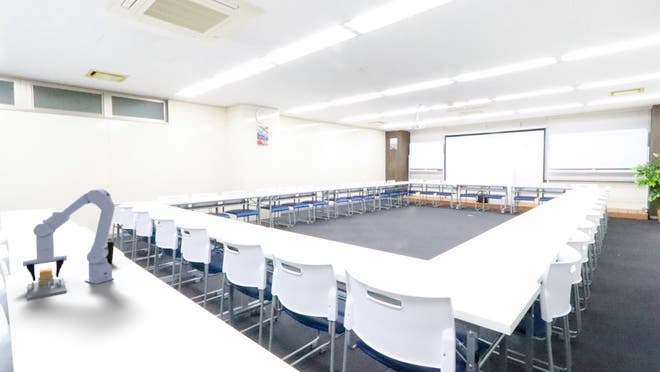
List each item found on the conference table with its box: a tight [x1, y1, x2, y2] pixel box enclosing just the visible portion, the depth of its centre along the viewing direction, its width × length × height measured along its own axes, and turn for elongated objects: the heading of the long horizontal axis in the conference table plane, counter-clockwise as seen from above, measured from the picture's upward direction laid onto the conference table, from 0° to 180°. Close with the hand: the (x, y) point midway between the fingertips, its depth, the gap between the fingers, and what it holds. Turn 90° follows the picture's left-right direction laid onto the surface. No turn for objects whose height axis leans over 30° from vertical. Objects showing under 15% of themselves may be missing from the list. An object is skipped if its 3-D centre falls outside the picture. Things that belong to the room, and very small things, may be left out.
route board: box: [27, 277, 68, 300], centre depth 135 cm, size 21×12×1 cm, turn 45°
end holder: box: [38, 274, 55, 287], centre depth 139 cm, size 7×5×2 cm
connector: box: [39, 268, 53, 280], centre depth 139 cm, size 4×4×6 cm
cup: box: [106, 241, 115, 265], centre depth 173 cm, size 8×8×12 cm
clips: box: [31, 280, 61, 289], centre depth 135 cm, size 6×9×2 cm, turn 135°
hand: (45, 278), depth 139 cm, fingers open, 7 cm apart
